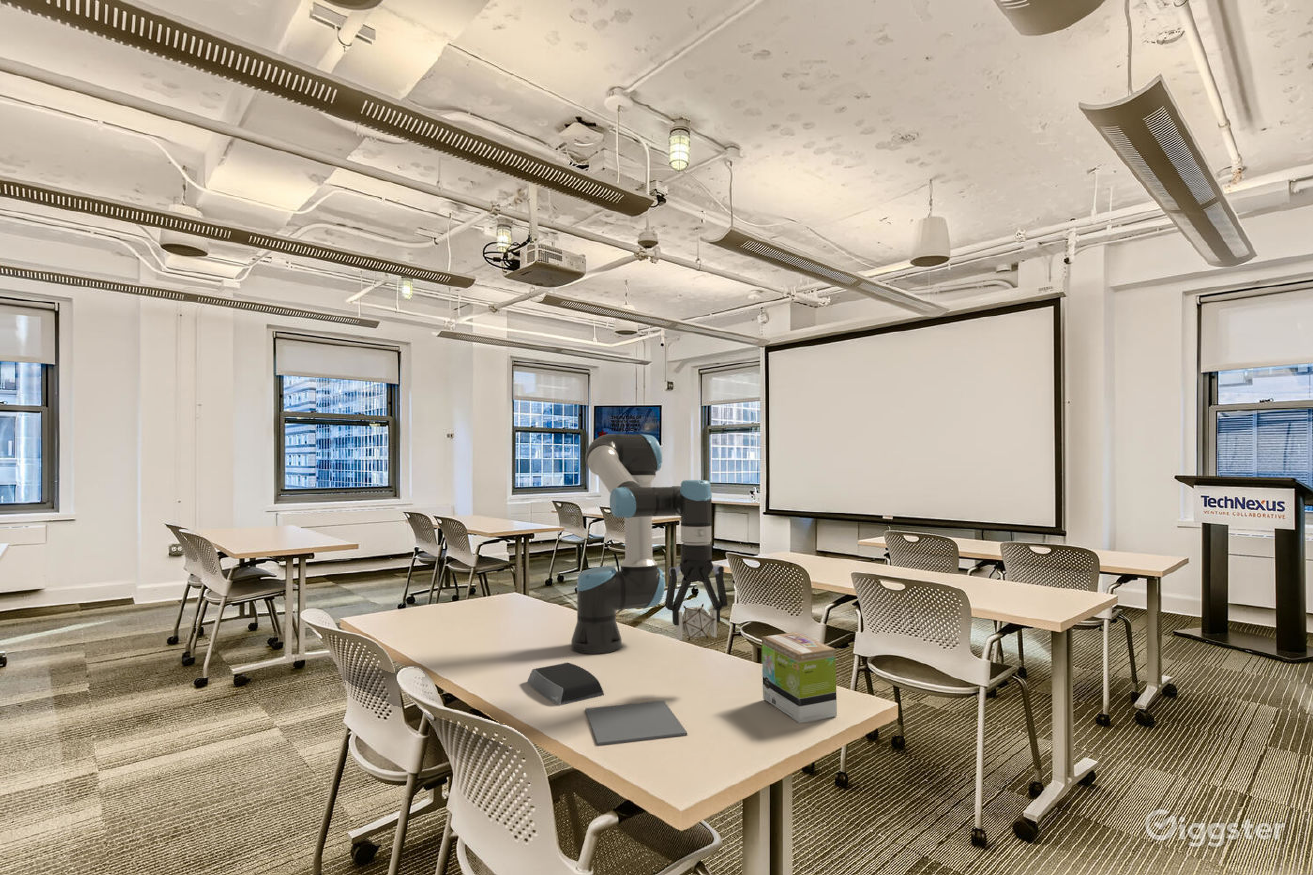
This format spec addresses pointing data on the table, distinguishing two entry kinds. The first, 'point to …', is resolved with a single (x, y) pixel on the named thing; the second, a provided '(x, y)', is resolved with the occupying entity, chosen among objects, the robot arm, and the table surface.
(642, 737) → the mat
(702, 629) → the game die
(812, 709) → the tea box
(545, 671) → the external hard drive
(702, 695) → the table surface
